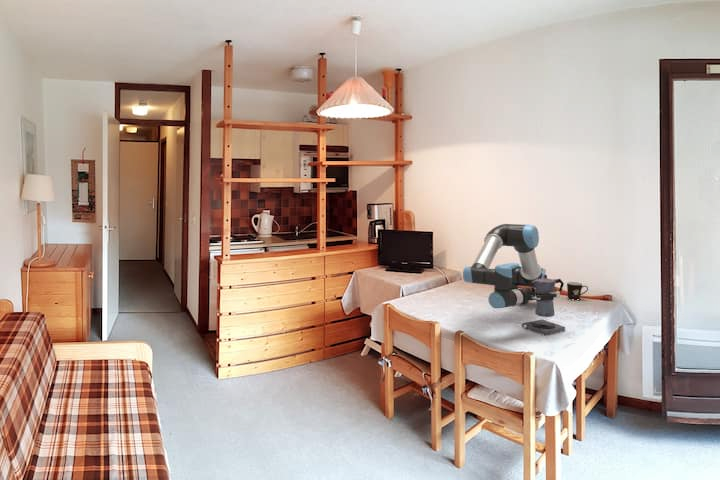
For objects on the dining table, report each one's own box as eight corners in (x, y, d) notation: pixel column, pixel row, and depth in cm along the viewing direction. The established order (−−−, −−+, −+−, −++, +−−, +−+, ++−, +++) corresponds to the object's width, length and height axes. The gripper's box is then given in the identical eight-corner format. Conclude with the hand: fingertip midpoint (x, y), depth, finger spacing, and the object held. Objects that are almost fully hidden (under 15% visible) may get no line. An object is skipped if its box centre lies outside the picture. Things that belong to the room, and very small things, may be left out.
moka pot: (525, 311, 232) (528, 272, 229) (555, 311, 233) (558, 272, 231) (534, 317, 223) (537, 277, 220) (565, 317, 224) (568, 277, 221)
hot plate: (541, 323, 238) (542, 318, 238) (565, 330, 226) (565, 326, 226) (520, 327, 231) (520, 322, 231) (543, 335, 219) (543, 330, 219)
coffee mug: (565, 300, 285) (565, 284, 283) (567, 297, 292) (568, 281, 291) (585, 302, 279) (586, 286, 277) (587, 299, 286) (588, 283, 285)
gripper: (501, 300, 228) (534, 295, 238) (535, 310, 209) (569, 304, 220) (502, 285, 227) (535, 280, 237) (535, 294, 208) (570, 288, 219)
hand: (551, 292), depth 228 cm, fingers closed on moka pot, 8 cm apart
